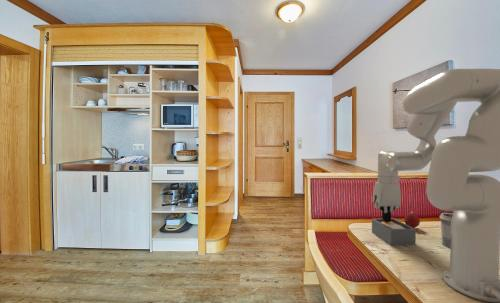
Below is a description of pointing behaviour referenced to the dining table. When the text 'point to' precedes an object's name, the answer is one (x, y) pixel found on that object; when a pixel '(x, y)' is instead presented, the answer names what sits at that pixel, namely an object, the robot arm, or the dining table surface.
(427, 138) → the robot arm
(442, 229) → the cup
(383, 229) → the switch box
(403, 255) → the dining table surface
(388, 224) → the rocker
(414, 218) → the onion
